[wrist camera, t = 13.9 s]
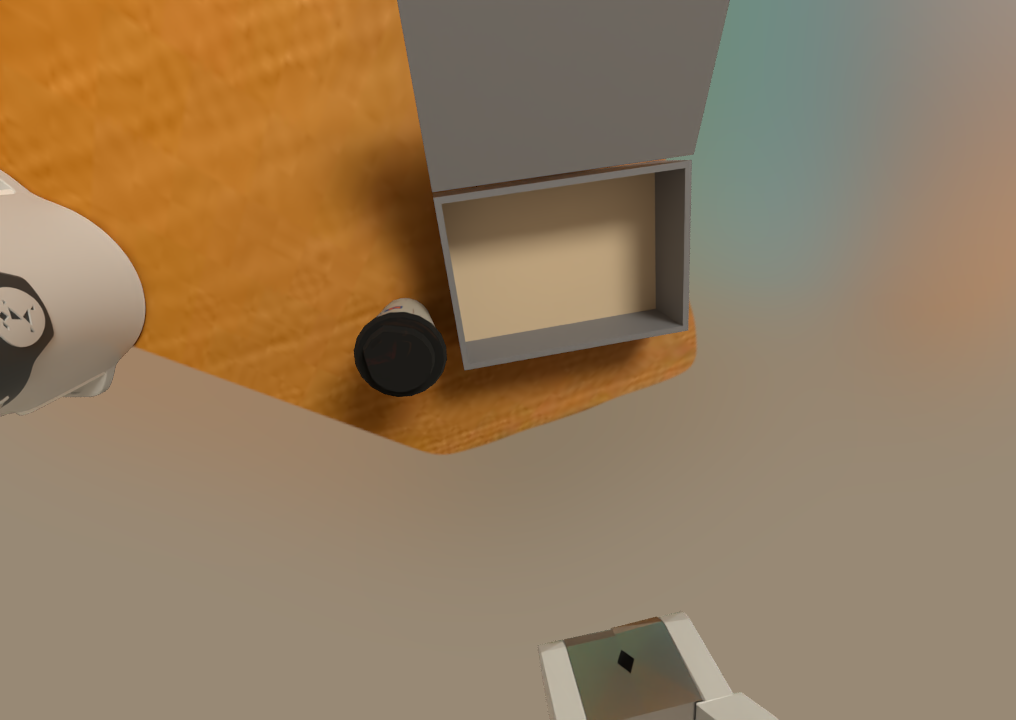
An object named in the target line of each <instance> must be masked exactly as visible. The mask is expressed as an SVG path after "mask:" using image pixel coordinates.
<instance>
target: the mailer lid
mask: <svg viewBox="0 0 1016 720" xmlns="http://www.w3.org/2000/svg"><path fill="white" fill-rule="evenodd" d="M729 1H730V0H397V2H398V7H399V13H400V18H401V24H402V29H403V35H404V40H405V46H406V51H407V56H408V62H409V67H410V73H411V78H412V84H413V89H414V95H415V100H416V106H417V111H418V117H419V122H420V128H421V133H422V139H423V144H424V150H425V155H426V161H427V166H428V172H429V177H430V183H431V188H432V192H438V191H445V190H452V189H459V188H466V187H473V186H479V185H486V184H493V183H500V182H507V181H514V180H521V179H528V178H535V177H541V176H548V175H555V174H562V173H569V172H576V171H583V170H590V169H597V168H604V167H610V166H617V165H624V164H631V163H638V162H645V161H652V160H659V159H666V158H672V157H679V156H686V155H693V154H694V151H695V147H696V143H697V138H698V134H699V130H700V126H701V121H702V117H703V113H704V108H705V104H706V100H707V95H708V91H709V87H710V83H711V78H712V74H713V70H714V65H715V61H716V56H717V52H718V49H719V44H720V40H721V35H722V31H723V27H724V23H725V18H726V14H727V10H728V6H729Z"/></svg>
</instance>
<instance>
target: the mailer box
mask: <svg viewBox="0 0 1016 720" xmlns="http://www.w3.org/2000/svg"><path fill="white" fill-rule="evenodd" d="M691 169H692V160H672V161H652V162H645V163H638V164H631V165H625V166H618V167H611V168H604V169H597V170H590V171H583V172H576V173H570V174H563V175H556V176H549V177H542V178H535V179H528V180H521V181H514V182H508V183H501V184H494V185H487V186H480V187H473V188H466V189H459V190H453V191H446V192H439V193H433V199H434V205H435V210H436V216H437V221H438V227H439V232H440V238H441V243H442V249H443V254H444V260H445V265H446V271H447V277H448V282H449V288H450V293H451V299H452V304H453V310H454V315H455V321H456V326H457V332H458V337H459V343H460V349H461V354H462V360H463V365H464V370H470V369H475V368H481V367H486V366H492V365H497V364H503V363H509V362H514V361H520V360H525V359H531V358H536V357H542V356H548V355H553V354H559V353H564V352H570V351H575V350H581V349H587V348H592V347H598V346H603V345H609V344H614V343H620V342H625V341H631V340H637V339H642V338H648V337H653V336H659V335H664V334H670V333H676V332H681V331H687V330H688V311H689V264H690V262H689V261H690V216H691Z"/></svg>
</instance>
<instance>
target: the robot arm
mask: <svg viewBox="0 0 1016 720" xmlns="http://www.w3.org/2000/svg"><path fill="white" fill-rule="evenodd" d="M144 319H145V298H144V293H143V288H142V285H141V282H140V280H139V277H138V275H137V273H136V271H135V269H134V267H133V265H132V263H131V262H130V260H129V259H128V257H127V256H126V255H125V253H124V252H123V251H122V249H121V248H120V247H119V246H118V245H117V244H116V243H115V241H114V240H113V239H112V238H111V237H109V236H108V235H107V234H106V233H105V232H104V231H103V230H101V229H100V228H99V227H98V226H96V225H95V224H94V223H92V222H91V221H89V220H88V219H86V218H85V217H83V216H81V215H79V214H78V213H76V212H74V211H72V210H70V209H68V208H65V207H63V206H61V205H58V204H56V203H53V202H50V201H48V200H45V199H43V198H41V197H38V196H36V195H34V194H32V193H31V192H29V191H28V190H27V189H26V188H24V187H23V186H22V185H21V184H19V183H18V182H17V181H15V180H14V179H13V178H12V177H10V176H9V175H7V174H6V173H5V172H3V171H1V170H0V416H4V415H6V414H10V413H16V414H18V415H25V414H29V413H32V412H34V411H35V410H38V409H40V408H42V407H43V406H46V405H48V404H49V403H51V402H53V401H55V400H57V399H59V398H61V397H92V396H96V395H99V394H101V393H102V392H105V391H106V390H107V389H108V388H109V387H110V385H111V382H112V379H113V376H114V371H115V366H116V364H117V363H118V361H119V360H120V359H121V358H122V357H123V356H124V354H126V352H128V350H129V349H130V348H131V347H132V346H133V345H134V343H135V342H136V340H137V339H138V337H139V335H140V333H141V330H142V327H143V324H144ZM538 652H539V659H540V666H541V672H542V679H543V685H544V691H545V696H546V701H547V708H548V712H549V717H550V720H779V719H778V718H776V717H775V716H773V715H772V714H771V713H769V712H768V711H767V710H765V709H764V708H762V707H761V706H759V705H758V704H757V703H755V702H754V701H753V700H751V699H750V698H748V697H747V696H746V695H744V694H743V693H742V692H738V693H732V691H731V689H730V687H729V686H728V684H727V682H726V680H725V679H724V677H723V675H722V674H721V672H720V670H719V669H718V667H717V665H716V663H715V662H714V660H713V658H712V657H711V655H710V653H709V651H708V649H707V648H706V646H705V644H704V643H703V641H702V639H701V637H700V636H699V634H698V632H697V631H696V629H695V627H694V626H693V624H692V622H691V620H690V619H689V617H688V616H687V615H686V614H685V613H684V612H677V613H673V614H669V615H665V616H662V617H653V618H649V619H645V620H642V621H638V622H634V623H630V624H626V625H622V626H618V627H614V628H611V629H610V630H605V631H600V632H596V633H592V634H587V635H582V636H578V637H573V638H568V639H564V640H558V641H554V642H550V643H546V644H542V645H538Z"/></svg>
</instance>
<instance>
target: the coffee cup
mask: <svg viewBox="0 0 1016 720" xmlns="http://www.w3.org/2000/svg"><path fill="white" fill-rule="evenodd" d="M354 357H355V364H356V367H357V369H358V371H359V373H360V374H361V376H362V378H363V379H364V380H365V381H366V382H367V383H368V384H369V385H370V386H371V387H372V388H374V389H376V390H378V391H380V392H382V393H383V394H387V395H391V396H396V397H403V396H412V395H415V394H418V393H420V392H423V391H425V390H426V389H428V388H429V387H430V386H432V385H433V384H434V383H436V381H437V380H438V379H439V377H440V376H441V374H442V373H443V371H444V367H445V364H446V361H447V353H446V345H445V342H444V340H443V338H442V335H441V333H440V332H439V331H438V330H437V329H436V328H435V326H434V323H433V321H432V319H431V317H430V314H429V312H428V310H427V309H426V308H425V306H424V305H423V304H421V303H420V302H418V301H417V300H413V299H410V298H400V299H397V300H394V301H392V302H391V303H390V304H388V305H387V306H386V307H385V308H384V309H383V310H382V312H381V313H380V314H379V315H378V316H377V317H376V318H374V319H373V320H372V321H370V322H369V323H368V324H367V325H365V326H364V328H363V329H362V331H361V332H360V334H359V335H358V337H357V339H356V344H355V348H354Z"/></svg>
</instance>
